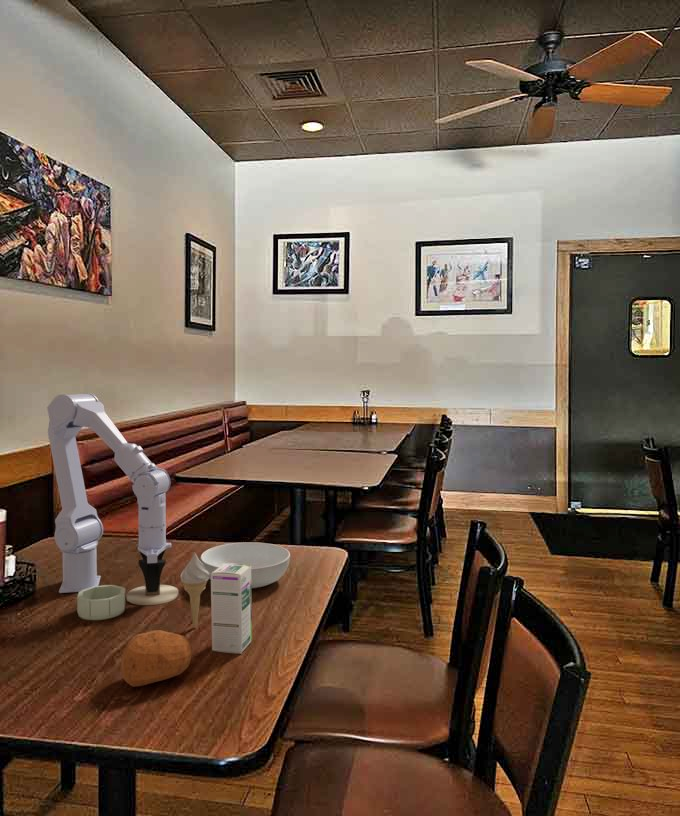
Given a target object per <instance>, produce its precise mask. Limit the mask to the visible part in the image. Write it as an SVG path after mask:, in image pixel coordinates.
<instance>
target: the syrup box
mask: <svg viewBox="0 0 680 816" xmlns="http://www.w3.org/2000/svg"><path fill="white" fill-rule="evenodd" d="M252 589H253V588H251V566H250V565H246V564H237V563H227V564H225V563H223V564H222V566H220V567H219V568H217V569H216V570H215V571H213V572H212V573H211V580H210V601H211V602H210V603H211V604H210V605H211V607H210V608H211V609H210V610H211V612H210V614H211V617H210V619H211V621H210V622H211V651H214V652H218V653H227V654H238V655H239V654H240V655H241V654H243V652H244V650H245V649H247V647H248V646H249V644H251V643H252V641H253V608H252V607H253V606H252V604H253V603H252V601H253V599H252V596H253V595H252Z"/></svg>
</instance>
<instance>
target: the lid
mask: <svg viewBox="0 0 680 816" xmlns="http://www.w3.org/2000/svg"><path fill="white" fill-rule="evenodd" d="M144 584H145V583H144ZM178 597H179V589H178V588H177V587H176V586H172V585H170V584H161V581H160V582H159V588H158V591H157V592H147V589H146V584H145V585H141V586H138V587H134V588H132V589H131V590H129V591H128V592H127V593H126V594H125V599H126V601H127V602H128V603H130V604H133V605H138V606H156V605H161V604H166V603H169V602H171V601H174V600H175V599H177V598H178Z"/></svg>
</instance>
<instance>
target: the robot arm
mask: <svg viewBox="0 0 680 816" xmlns="http://www.w3.org/2000/svg"><path fill="white" fill-rule="evenodd" d="M104 406H105V405H104V404H103V403H102V402H101V401H100V400H99V399H98V397H97V396H96V395H95V394H94V393H92V392H85V393H79V394H77V393H75V394H64V393H63V394H57V395H56V396H55V397H54V398H53V399H52V400H51V401H50V402H49V404H48V406H47V407H46V408H47V412H48V420H49V421H48V422H49V423H48V428H47V436H48V441H49V446H50V452H51V457H52V462H53V467H54V473H55V478H56V483H57V487H58V488H57V489H58V494H59V499H60V505H61V511H60V512H59V513H58V514H57V516H56V518H55V519H54V523H55V524H54V525H55V529H54V531H55V532H54V542H55V544H56V546H57V547H58V548H59V549H60V551H59V552H61V554H62V583H61V585H60V588H59V589H58V593H59V594H65V593H66V594H67V593H79V592H80V591H82V590H85V589H87V588H90V587H93V586H94V587H95V586H100V580H101V575H98V571H97V570H98V565H97V546H98V545H99V541H100V539H101V538H102V536H103V534H104V525H103V523H102V521H101V519H100V517H99V516H98V511H97V509H96V508H95V507H93V506H92V505H90V503H88V497H87V492H86V486H85V481H84V475H83V471H82V466H81V460H80V455H79V449H78V444H77V438H76V437H77V435H78V434H79V432H80V431H81V430H82V429H83V427H85V428H89V429H92V431H93V432H94V433H95V434H96V435H97V436H98V437H99V438H100V439H101V440H102V441H103V442H104V444H106V445H107V447H109V448H110V449H111V450H112V451H113V453H114V458H113V459H114V460H113V461H114V462H115V463H116V465H118V467H119V468H120V469H121V470H122V471H123V473H124V474H125V475H126V476H127V477H128V479H129V480H130V481H131V482H132V484H131V486H132V491H133V494H134V495H135V496H136V498H137V500H136V501H137V505H138V545H137V550H138V551H139V554H140V556H141V558H142V559H138V561H137V562H138V567H140V570H141V572H142V575H143V577H144V582H145V583H144V584H146V589H147V592H157V591H158V588H159V582H160V583H161V576H162V572H163V570H164V567H165V565H166V563H167V559H163V556H164V555H165V553H166V549H171V548H172V543H171V542H167V538H166V535H167V529H166V527H167V525H166V524H167V521H166V519H167V518H166V517H167V515H166V511H167V509H166V508H167V507H166V506H167V502H166V500H167V499H166V493H167V492H168V491H169V489H170V488H171V484H172V483H171V477H170V475H169V473H168V471H167V470H165V469H164V468H161V467H157V466H156V464H155V463H154V462H152V461H151V460H150V459H149V458H148V456H147V455H146V454H145V453H144V452H143V451H144V449H143V448H142V446H141V445H137V444H136V443H130V442H128V441H127V440H126V439H125V437H124V436H123V434H122V433H121V431H119V429H118V428H117V426H116V425H115V424H114V422H113V421H112V420H111V419H110V417H109V416H108V414H107V412H106V410H105V407H104Z"/></svg>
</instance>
